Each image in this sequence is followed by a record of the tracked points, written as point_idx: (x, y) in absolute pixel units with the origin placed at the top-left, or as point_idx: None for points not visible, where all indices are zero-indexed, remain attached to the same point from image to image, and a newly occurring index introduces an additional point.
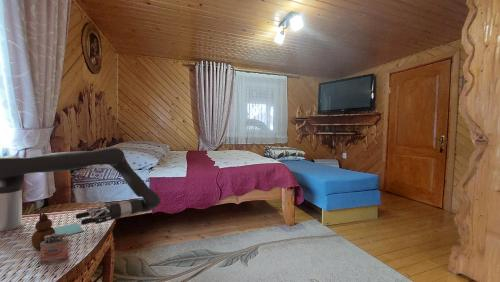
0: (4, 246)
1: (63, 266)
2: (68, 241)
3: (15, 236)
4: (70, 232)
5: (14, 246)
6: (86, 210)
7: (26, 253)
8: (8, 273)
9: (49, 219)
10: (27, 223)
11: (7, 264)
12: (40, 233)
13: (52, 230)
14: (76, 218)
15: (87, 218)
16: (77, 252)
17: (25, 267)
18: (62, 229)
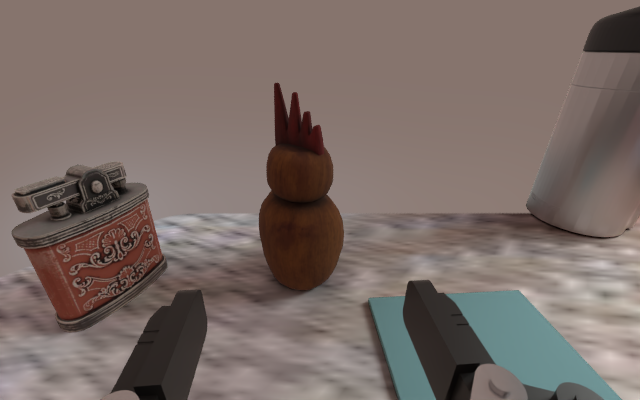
0: (391, 213)
1: (24, 308)
2: (19, 245)
3: (470, 227)
4: (425, 379)
5: (375, 225)
6: (562, 387)
7: None
8: (188, 217)
9: (298, 155)
10: (625, 250)
11: (249, 216)
12: (270, 193)
13: (282, 221)
14: (404, 314)
15: (172, 334)
16: (78, 377)
17: (180, 237)
18: (502, 345)
